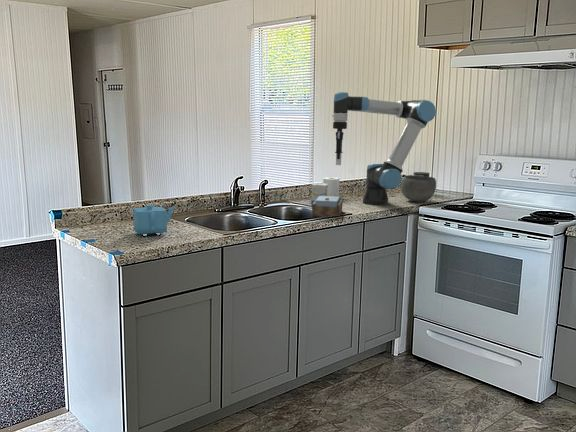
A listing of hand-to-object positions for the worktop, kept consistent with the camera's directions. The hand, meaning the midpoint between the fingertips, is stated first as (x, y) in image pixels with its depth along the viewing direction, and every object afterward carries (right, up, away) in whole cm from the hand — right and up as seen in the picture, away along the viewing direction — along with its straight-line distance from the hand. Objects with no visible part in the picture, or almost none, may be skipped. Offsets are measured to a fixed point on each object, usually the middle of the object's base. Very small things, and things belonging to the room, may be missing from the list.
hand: (338, 164), depth 309 cm
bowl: (+51, -19, +33) cm, 64 cm away
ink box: (-9, -21, +19) cm, 30 cm away
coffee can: (+60, -14, +62) cm, 87 cm away
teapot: (-85, -36, -64) cm, 112 cm away
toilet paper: (-1, -17, +43) cm, 46 cm away
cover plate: (-7, -22, -12) cm, 26 cm away
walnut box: (-7, -27, -11) cm, 30 cm away
